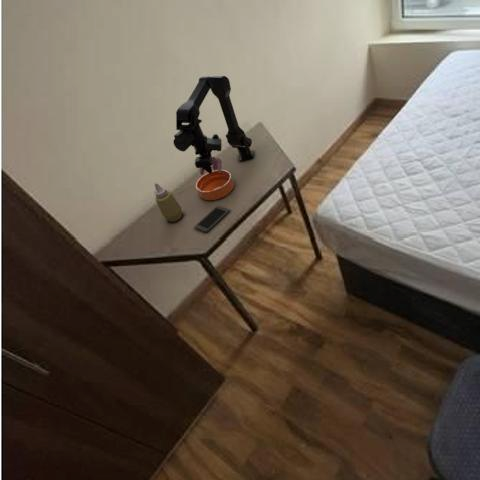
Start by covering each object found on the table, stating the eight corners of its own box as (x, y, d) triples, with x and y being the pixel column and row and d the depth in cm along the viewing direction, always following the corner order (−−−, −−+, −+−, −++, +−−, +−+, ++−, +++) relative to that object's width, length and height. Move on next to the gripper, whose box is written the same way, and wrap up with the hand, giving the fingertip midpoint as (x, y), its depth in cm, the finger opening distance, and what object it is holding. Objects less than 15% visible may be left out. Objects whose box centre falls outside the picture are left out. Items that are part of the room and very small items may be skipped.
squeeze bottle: (168, 226, 166) (147, 192, 153) (164, 216, 171) (144, 183, 159) (186, 218, 168) (167, 184, 155) (182, 208, 173) (163, 174, 161)
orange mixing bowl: (201, 183, 185) (197, 175, 181) (234, 175, 184) (230, 166, 181) (199, 204, 173) (194, 195, 170) (234, 195, 173) (230, 186, 169)
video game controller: (224, 171, 173) (221, 155, 171) (220, 173, 168) (217, 156, 166) (203, 174, 175) (200, 158, 173) (199, 175, 170) (195, 159, 168)
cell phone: (194, 228, 161) (193, 226, 161) (217, 207, 169) (217, 205, 168) (206, 233, 158) (206, 231, 157) (230, 211, 165) (229, 209, 165)
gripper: (215, 143, 154) (229, 176, 165) (217, 121, 167) (229, 153, 178) (187, 151, 154) (203, 183, 165) (191, 128, 168) (205, 159, 178)
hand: (211, 169), depth 171 cm, fingers closed on video game controller, 6 cm apart
